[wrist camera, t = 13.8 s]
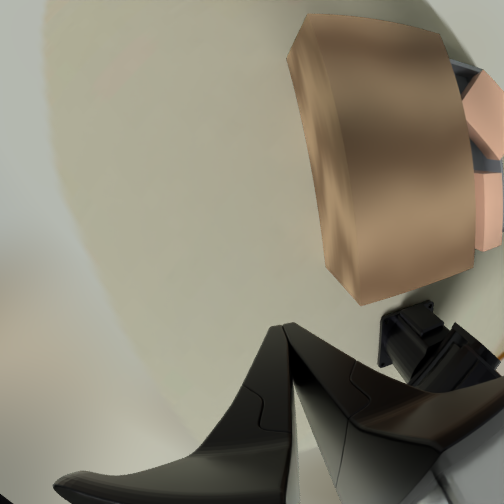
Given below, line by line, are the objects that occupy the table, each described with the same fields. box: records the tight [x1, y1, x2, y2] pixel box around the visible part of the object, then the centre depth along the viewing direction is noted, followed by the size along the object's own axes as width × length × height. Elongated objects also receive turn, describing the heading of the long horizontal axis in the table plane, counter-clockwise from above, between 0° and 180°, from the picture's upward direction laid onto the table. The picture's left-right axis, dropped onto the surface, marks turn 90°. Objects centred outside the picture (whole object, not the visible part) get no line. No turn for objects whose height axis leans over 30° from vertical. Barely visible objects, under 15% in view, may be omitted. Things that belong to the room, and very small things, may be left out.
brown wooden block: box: [286, 14, 476, 306], centre depth 16 cm, size 17×10×7 cm, turn 11°
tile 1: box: [474, 170, 503, 252], centre depth 17 cm, size 6×6×3 cm
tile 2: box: [461, 70, 504, 160], centre depth 15 cm, size 6×6×3 cm
